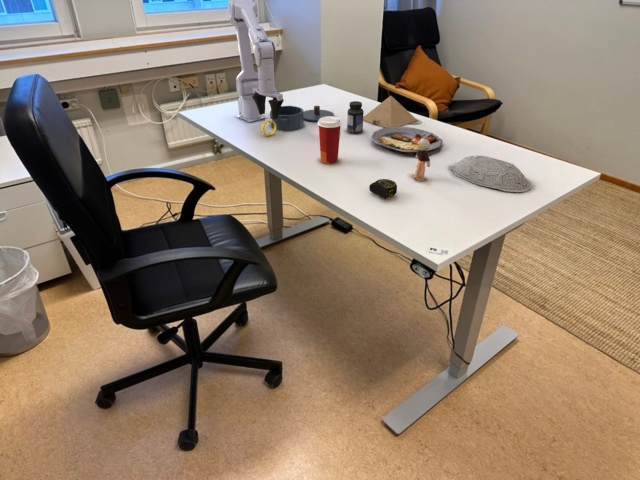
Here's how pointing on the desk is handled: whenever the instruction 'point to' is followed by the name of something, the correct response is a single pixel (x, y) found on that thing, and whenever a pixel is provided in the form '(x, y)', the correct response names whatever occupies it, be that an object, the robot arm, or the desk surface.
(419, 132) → the food plate
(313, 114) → the lid
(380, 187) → the tape measure
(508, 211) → the desk surface
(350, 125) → the pill bottle
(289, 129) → the pot
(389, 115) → the model pyramid
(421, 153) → the grandmother figurine
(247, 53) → the robot arm
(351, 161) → the desk surface
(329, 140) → the paper cup
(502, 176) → the grey oval dome
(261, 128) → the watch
